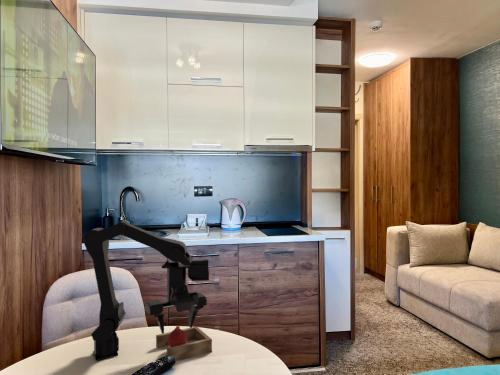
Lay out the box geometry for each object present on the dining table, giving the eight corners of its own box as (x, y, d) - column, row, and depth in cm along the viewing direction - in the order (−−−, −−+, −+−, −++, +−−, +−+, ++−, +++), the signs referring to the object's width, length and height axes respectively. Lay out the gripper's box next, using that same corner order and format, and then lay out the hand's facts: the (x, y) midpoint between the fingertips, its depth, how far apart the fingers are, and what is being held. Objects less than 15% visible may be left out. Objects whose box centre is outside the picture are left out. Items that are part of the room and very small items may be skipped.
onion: (182, 356, 110) (182, 330, 110) (164, 354, 111) (164, 328, 111) (189, 347, 116) (189, 323, 116) (172, 346, 117) (172, 322, 117)
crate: (168, 363, 106) (168, 349, 106) (156, 347, 116) (156, 335, 116) (211, 351, 113) (211, 339, 113) (196, 337, 124) (196, 326, 124)
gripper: (155, 292, 102) (155, 346, 102) (214, 283, 111) (214, 333, 111) (144, 283, 111) (144, 333, 111) (200, 275, 121) (200, 321, 121)
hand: (176, 330), depth 113 cm, fingers open, 9 cm apart
